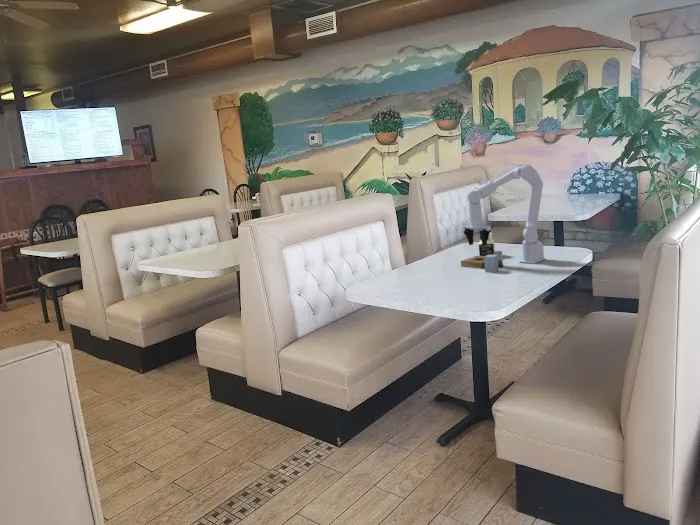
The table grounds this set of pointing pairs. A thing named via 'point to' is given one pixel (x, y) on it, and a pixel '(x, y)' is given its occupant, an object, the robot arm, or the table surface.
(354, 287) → the table surface
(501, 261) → the round peg
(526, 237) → the robot arm
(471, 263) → the bore block
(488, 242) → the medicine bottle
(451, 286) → the table surface
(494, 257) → the square peg
